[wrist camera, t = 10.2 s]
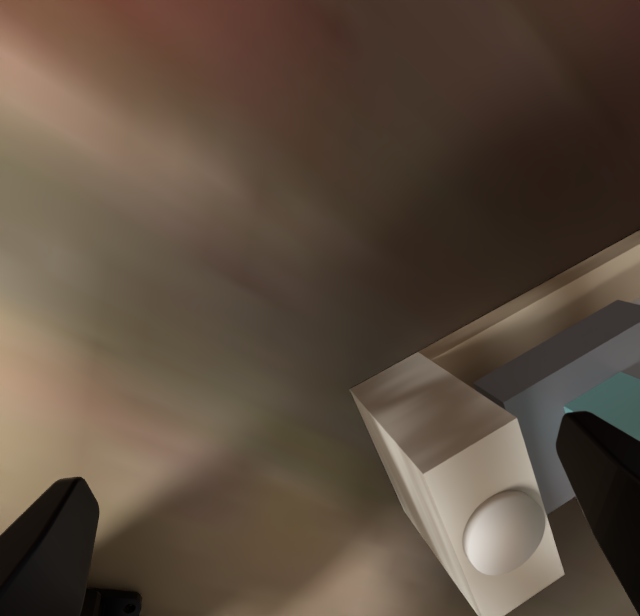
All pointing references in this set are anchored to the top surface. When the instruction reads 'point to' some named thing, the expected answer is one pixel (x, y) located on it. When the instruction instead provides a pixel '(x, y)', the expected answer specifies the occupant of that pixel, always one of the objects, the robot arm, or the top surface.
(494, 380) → the carriage
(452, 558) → the rail track
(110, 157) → the top surface
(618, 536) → the robot arm
